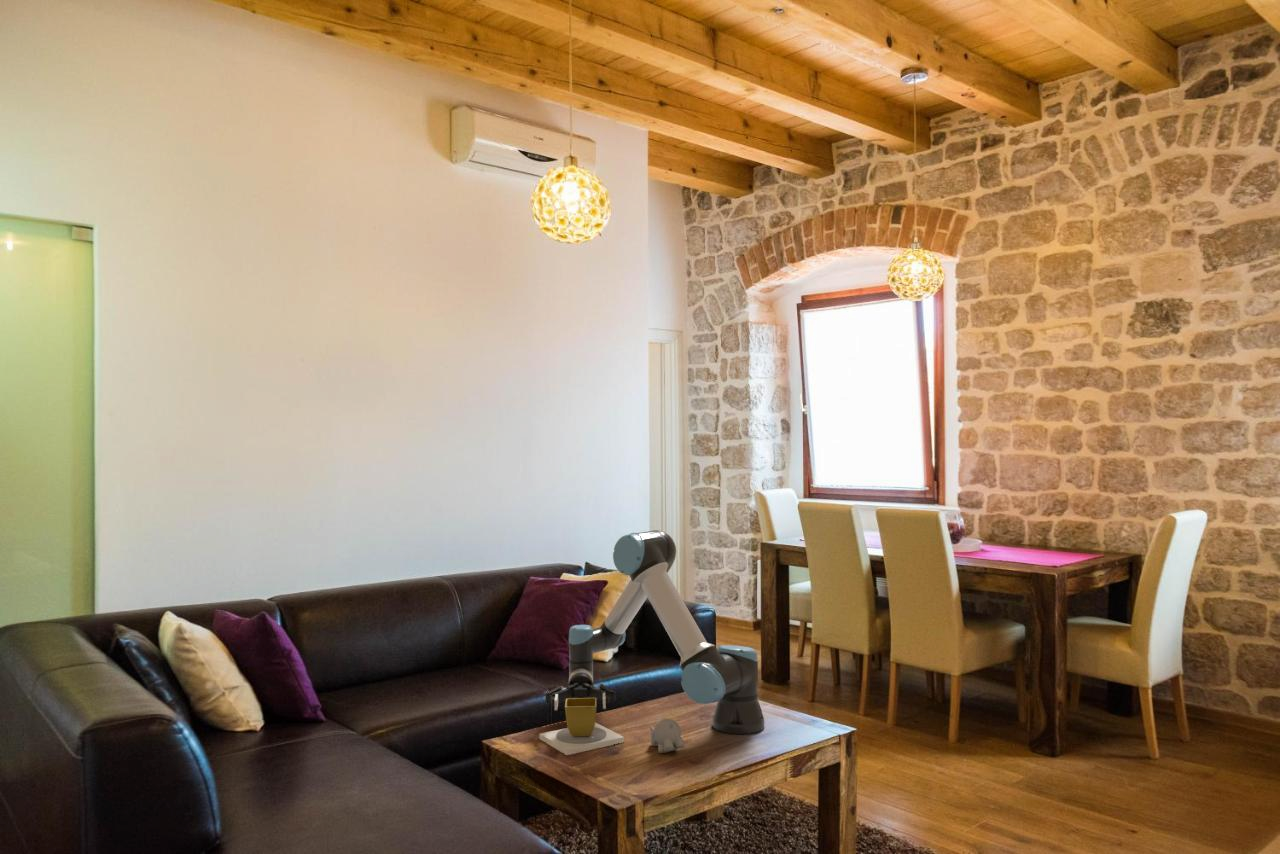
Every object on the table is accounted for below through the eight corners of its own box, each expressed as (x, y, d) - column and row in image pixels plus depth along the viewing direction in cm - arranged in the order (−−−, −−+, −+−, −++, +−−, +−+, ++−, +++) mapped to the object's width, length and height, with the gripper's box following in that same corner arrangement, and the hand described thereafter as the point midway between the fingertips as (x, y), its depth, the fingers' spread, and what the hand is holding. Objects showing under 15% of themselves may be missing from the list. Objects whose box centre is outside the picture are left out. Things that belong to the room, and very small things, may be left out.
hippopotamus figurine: (667, 752, 246) (661, 720, 250) (689, 747, 237) (682, 714, 240) (644, 757, 243) (638, 724, 246) (666, 752, 233) (659, 718, 236)
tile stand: (623, 742, 247) (623, 735, 247) (566, 755, 238) (566, 748, 238) (595, 727, 261) (595, 721, 261) (539, 739, 251) (539, 732, 251)
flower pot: (566, 729, 253) (565, 697, 254) (596, 728, 254) (596, 697, 254) (565, 739, 245) (564, 706, 245) (596, 739, 245) (596, 706, 245)
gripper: (621, 695, 273) (624, 716, 251) (539, 697, 271) (535, 719, 250) (621, 671, 273) (624, 690, 252) (539, 673, 271) (535, 692, 250)
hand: (580, 704), depth 251 cm, fingers open, 13 cm apart
